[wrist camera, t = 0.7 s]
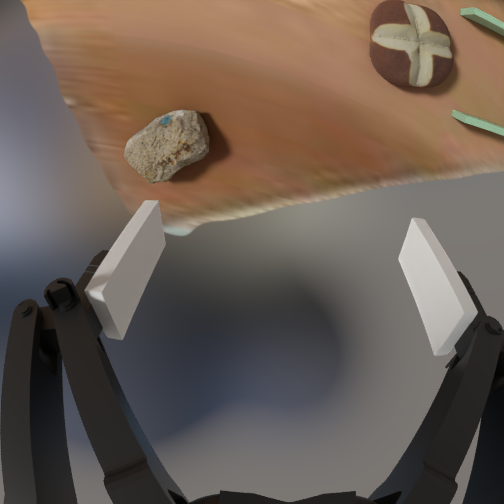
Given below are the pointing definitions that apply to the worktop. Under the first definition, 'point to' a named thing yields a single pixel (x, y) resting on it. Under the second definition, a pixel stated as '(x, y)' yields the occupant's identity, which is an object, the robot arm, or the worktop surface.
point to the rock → (168, 145)
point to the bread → (409, 44)
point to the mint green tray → (500, 28)
